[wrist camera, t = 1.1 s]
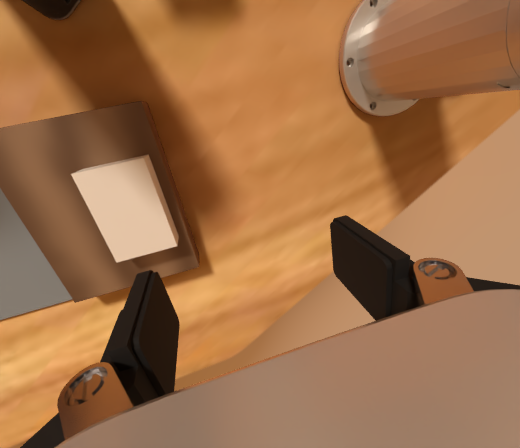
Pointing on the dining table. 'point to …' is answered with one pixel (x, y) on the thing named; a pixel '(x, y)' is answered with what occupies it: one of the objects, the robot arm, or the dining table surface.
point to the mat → (24, 269)
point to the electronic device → (54, 7)
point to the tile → (128, 207)
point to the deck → (72, 203)
